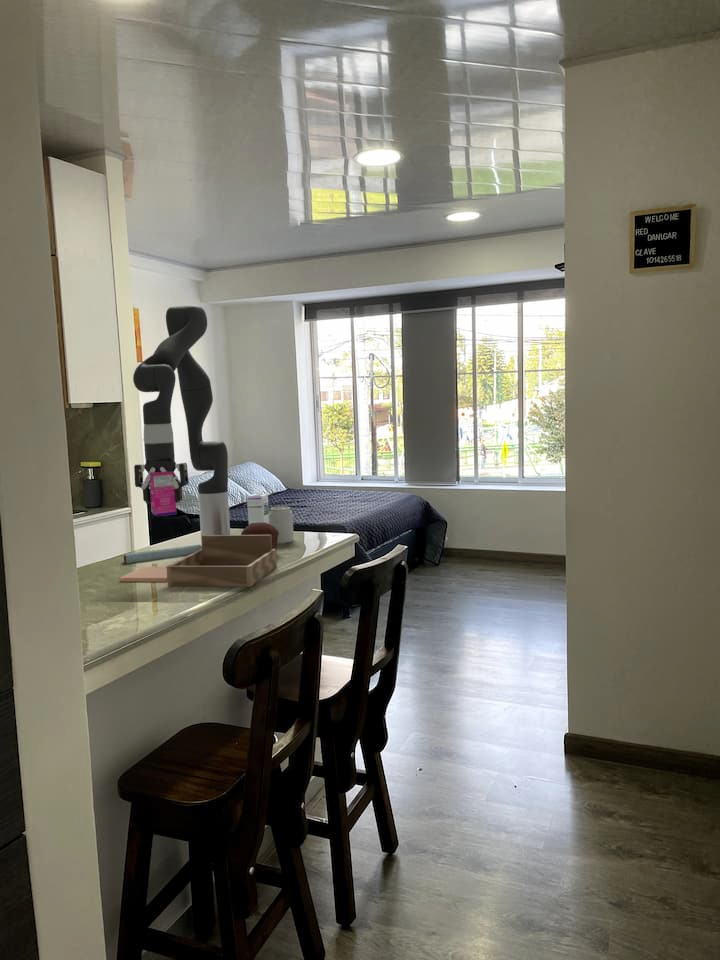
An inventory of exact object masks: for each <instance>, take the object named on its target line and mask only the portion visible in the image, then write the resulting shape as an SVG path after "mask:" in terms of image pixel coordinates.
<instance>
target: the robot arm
mask: <svg viewBox="0 0 720 960" xmlns="http://www.w3.org/2000/svg"><path fill="white" fill-rule="evenodd" d="M165 323H166V329H167V333H168V337H166V338H165V339H163V340H162V341H161V342H160V343H159V345H158V346H157V347H156V348H155V350H154V352H153V354H152V355H150V356H149V357H147V358H146V359H144V360H143V361H142V362H141V363H139V365H138V366H136V368H135V370H134V372H133V376H132V377H133V378H132V381H133V385H134V386H135V388H136V389H137V390H138V391H139V392H142V393H158V395H157V397H156V399H154V400H151V401H147V402H145V403H144V404H143V405H142V414H143V415H142V416H143V419H142V420H143V443H144V444H143V445H144V459H145V464H142V463H137V464H134V466H133V471H134V486H135V487H136V488H140V489H141V490H142V498H143V501H144V502H145V504H151V497H150V486H149V483H150V473H154V472H172V471H173V475H174V478H173V477H172V476H171V475H170V474H169V482H173V486H174V487H175V489H174V494H175V502H176V504H177V503H181V501H182V500H183V487H185V486H188V485H189V475H188V474H189V473H188V464H187V462H181V463H176V460H175V458H176V457H175V443H174V441H175V440H174V432H173V430H174V429H173V426H172V415H171V413H172V411H171V408H172V400H173V395H174V390H175V387H176V386H175V385H176V379H177V378H176V377H178V385H179V390H180V395H181V396H180V397H181V400H182V401H181V402H182V405H183V410H184V414H185V416H184V417H185V422H186V426H187V428H186V429H187V436H188V437H187V438H188V447H189V457H190V462H191V464H192V467H193V469H194V470H195V471H198V472H204V471H205V472H209V471H210V472H211V471H213V476H212V477H210V478H209V479H208V480H205V481H202V482H200V483H199V484H198V485H197V494H198V510H199V526H200V528H199V529H200V541H201V542H200V543H201V544H200V545H201V546H202V535H231V525H230V505H229V503H230V502H229V492H228V491H229V489H228V488H229V487H228V486H229V485H228V483H229V467H228V466H229V464H228V463H229V456H228V455H229V454H228V453H229V452H228V448H227V446H226V443H225V442H224V441H220V440H215V441H213V440H212V441H211V440H209V441H204V439H203V426H204V424H205V421H206V418H207V417H208V414H209V412H210V410H211V407H212V405H213V402H214V398H213V390H212V385H211V384H212V383H211V379H210V377H209V375H208V374H207V372H206V371H205V370H204V368H203V367H202V366H201V365H200V364H199V363H198V362H197V361H196V359H195V358H194V357H193V355H192V354H191V351H190V349H191V348H192V347H193V346H194V345H195V344H196V343H197V342H198V341H199V340H200V339H201V338H202V337H203V336H204V335H205V333H206V331H207V328H208V318H207V313H206V311H205V309H204V308H203V307H202V306H200V305H196V304H195V305H192V304H191V305H176V306H170V307H168V308H167V310H166V313H165ZM175 371H177V376H176V373H175ZM176 469H177V471H178V472H179V476H178V475H176V473H175V471H176ZM144 471H146V472H147V475H146V477H145V478H144ZM179 478H180V480H179Z"/></svg>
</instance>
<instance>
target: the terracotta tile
mask: <svg viewBox="0 0 720 960" xmlns="http://www.w3.org/2000/svg"><path fill="white" fill-rule="evenodd" d="M119 582H126V583H127V582H128V583H129V582H132V583H133V582H135V583H136V582H145V583H146V582H148V583H149V582H152V583H153V582H155V583H156V582H159V583H160V582H161V583H162V582H163V583H165V582H167V583H168V581H167V566H141V567H139V568H137V569H134V570H133V571H131V572H129V573H126V574H124V575H122V576H120V577H119Z"/></svg>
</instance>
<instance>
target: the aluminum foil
mask: <svg viewBox="0 0 720 960" xmlns="http://www.w3.org/2000/svg"><path fill="white" fill-rule="evenodd" d="M200 549H202V545H201V544H193V545H186V546H178V547H171V548H169V547H168V548H161V549H153V550H146V551H137V552H130V553H128V552H127V553H124V555H123V562H124V563H125V564H127V565H129V564H135V563H140V562H142V563H143V562H148V561H154V560H155V559H156V560H162V558H163V559H169V558H170V559H171V558H177V557H183V556H184V557H186V556H188V555H190V554H192V553H194V552H196V551H198V550H200ZM156 560H155V561H156Z"/></svg>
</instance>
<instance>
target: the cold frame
mask: <svg viewBox="0 0 720 960" xmlns="http://www.w3.org/2000/svg"><path fill="white" fill-rule="evenodd" d="M201 547H202V549H200V550H198V551H196V552H194V553H192V554H190V555H185V556H184V557H183V558H180V559H179V560H177V561H175V562H173V563H171V564H169V565H166V567H167V586H168V587H246V588H247V587H250V588H251V587H253V586H254V585H256V583H258V582H259V581H261V579H263V578H264V577H265V576H266V575H268V574H270V573H271V572H272V571H273V570H275V569H276V568H277V565H278V564H277V563H278V562H277V550H276V549H272V535H241V534H230V535H202V545H201Z"/></svg>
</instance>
